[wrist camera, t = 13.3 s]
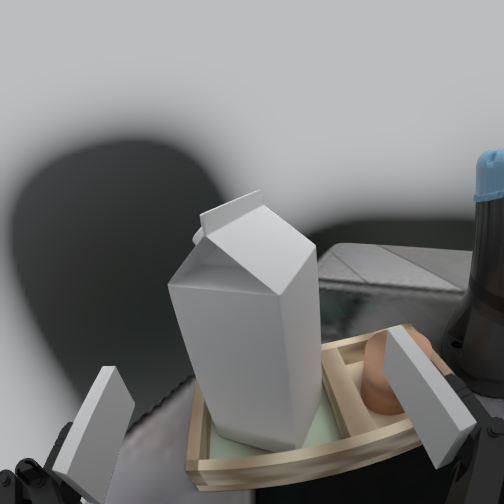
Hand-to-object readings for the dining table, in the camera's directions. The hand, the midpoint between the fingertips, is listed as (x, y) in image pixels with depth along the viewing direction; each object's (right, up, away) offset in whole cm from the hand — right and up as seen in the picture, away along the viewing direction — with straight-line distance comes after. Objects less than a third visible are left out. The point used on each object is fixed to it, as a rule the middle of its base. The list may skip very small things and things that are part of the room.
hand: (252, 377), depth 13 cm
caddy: (+7, -10, +11) cm, 16 cm away
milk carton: (+2, -9, +10) cm, 14 cm away
